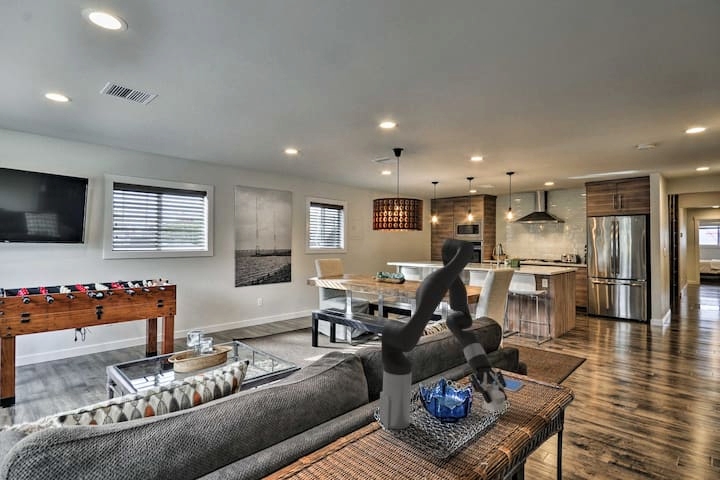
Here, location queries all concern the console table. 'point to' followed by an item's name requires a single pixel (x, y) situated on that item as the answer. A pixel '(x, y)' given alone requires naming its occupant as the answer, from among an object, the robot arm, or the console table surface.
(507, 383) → the tablet computer
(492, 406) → the cylinder
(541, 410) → the console table surface
